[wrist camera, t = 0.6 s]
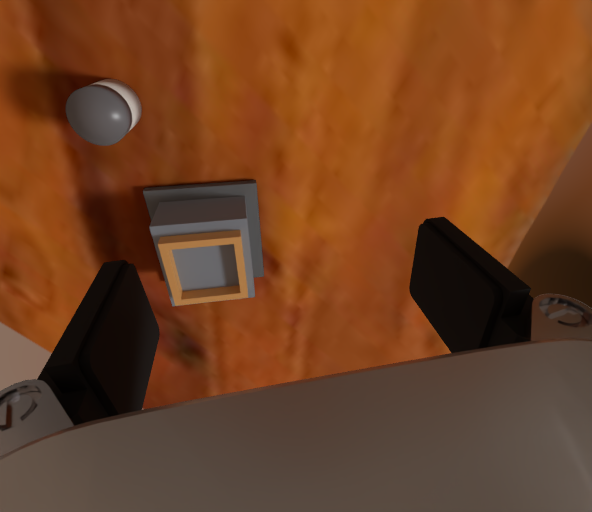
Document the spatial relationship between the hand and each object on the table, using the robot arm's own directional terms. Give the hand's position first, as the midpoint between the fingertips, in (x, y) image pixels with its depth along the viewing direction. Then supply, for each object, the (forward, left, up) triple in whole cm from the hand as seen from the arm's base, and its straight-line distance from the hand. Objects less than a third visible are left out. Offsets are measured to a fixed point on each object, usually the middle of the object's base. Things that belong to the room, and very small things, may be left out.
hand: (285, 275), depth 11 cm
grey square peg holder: (+15, -6, -31) cm, 35 cm away
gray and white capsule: (-1, -13, -31) cm, 33 cm away
